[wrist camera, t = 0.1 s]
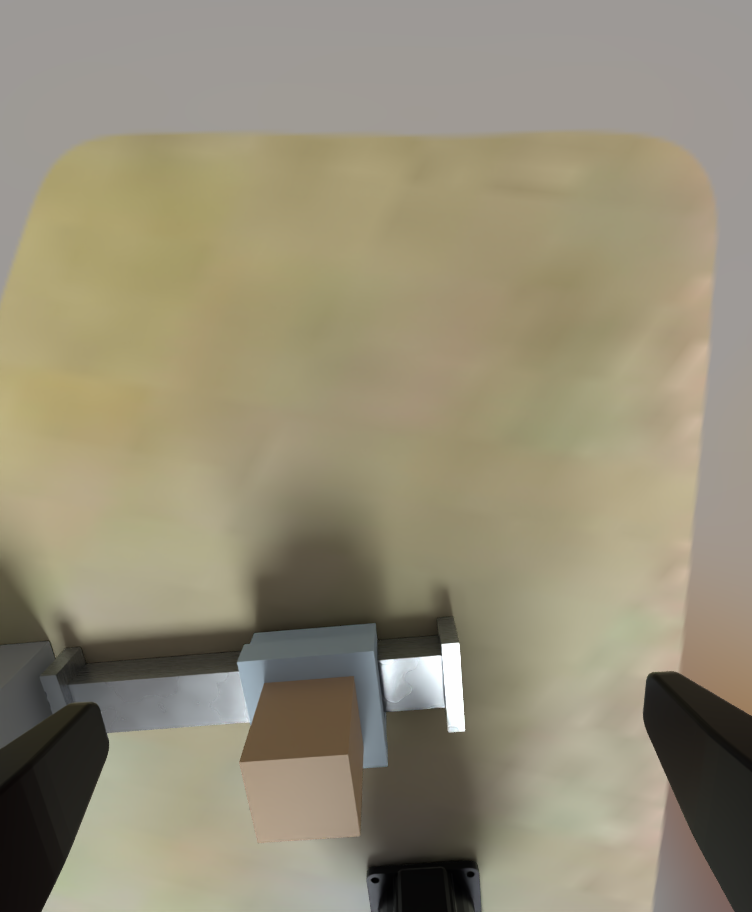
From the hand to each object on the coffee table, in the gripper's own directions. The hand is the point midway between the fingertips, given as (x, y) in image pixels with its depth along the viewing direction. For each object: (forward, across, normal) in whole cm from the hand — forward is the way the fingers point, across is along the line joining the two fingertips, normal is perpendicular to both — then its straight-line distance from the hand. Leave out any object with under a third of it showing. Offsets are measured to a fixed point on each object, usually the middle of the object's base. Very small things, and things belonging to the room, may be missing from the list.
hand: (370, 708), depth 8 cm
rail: (+14, +7, +11) cm, 19 cm away
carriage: (+14, +4, +11) cm, 19 cm away
